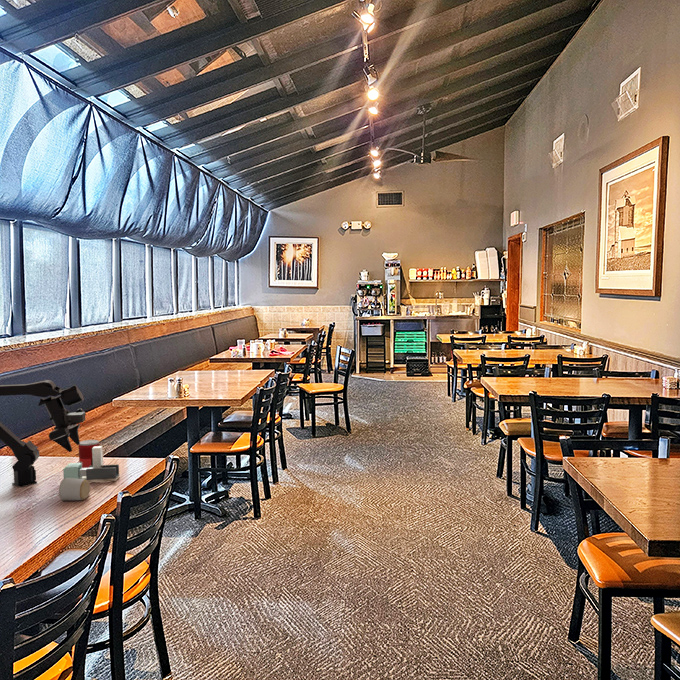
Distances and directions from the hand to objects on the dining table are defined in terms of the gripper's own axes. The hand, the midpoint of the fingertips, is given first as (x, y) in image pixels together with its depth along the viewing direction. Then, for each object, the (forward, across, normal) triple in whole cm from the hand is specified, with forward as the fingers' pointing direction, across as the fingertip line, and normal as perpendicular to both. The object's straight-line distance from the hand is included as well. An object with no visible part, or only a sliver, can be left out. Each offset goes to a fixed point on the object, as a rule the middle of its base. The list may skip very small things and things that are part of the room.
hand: (74, 447), depth 223 cm
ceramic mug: (+13, -23, -2) cm, 27 cm away
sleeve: (+14, -3, -6) cm, 16 cm away
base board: (+14, -3, -1) cm, 14 cm away
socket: (+10, -3, +5) cm, 12 cm away
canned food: (+13, +16, +4) cm, 21 cm away
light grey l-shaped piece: (+11, -3, 0) cm, 11 cm away
